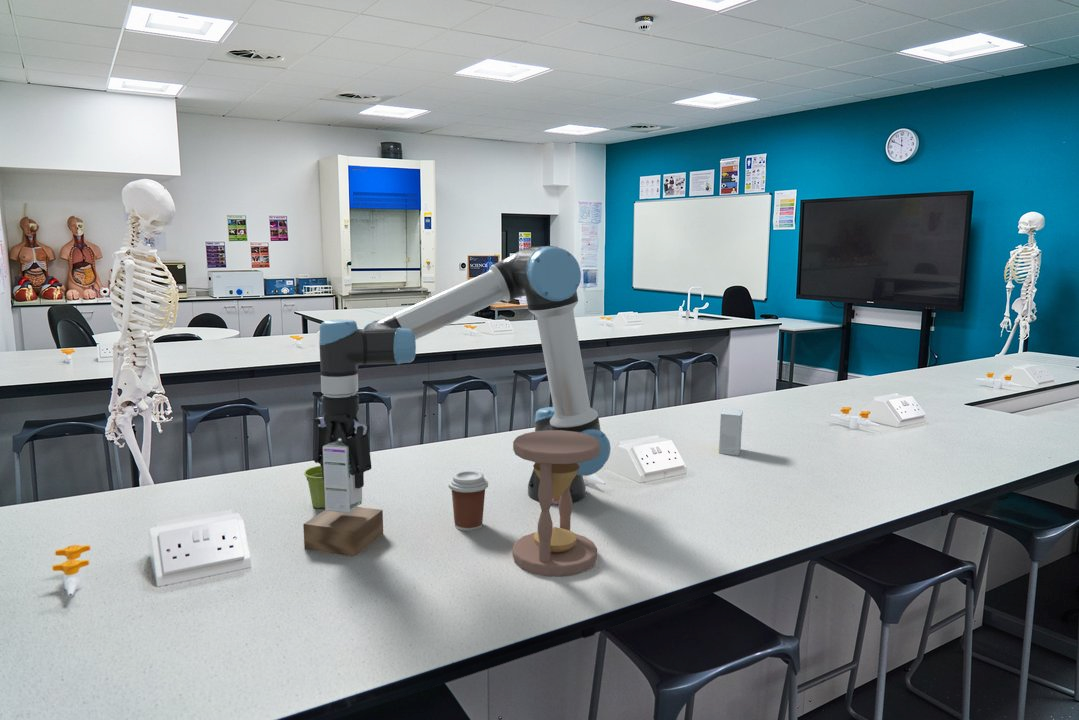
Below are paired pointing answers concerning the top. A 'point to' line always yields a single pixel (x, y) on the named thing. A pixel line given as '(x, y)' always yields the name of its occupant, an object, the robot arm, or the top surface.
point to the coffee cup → (468, 499)
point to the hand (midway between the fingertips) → (343, 498)
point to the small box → (730, 431)
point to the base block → (343, 531)
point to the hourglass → (556, 470)
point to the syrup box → (337, 477)
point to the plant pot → (316, 486)
